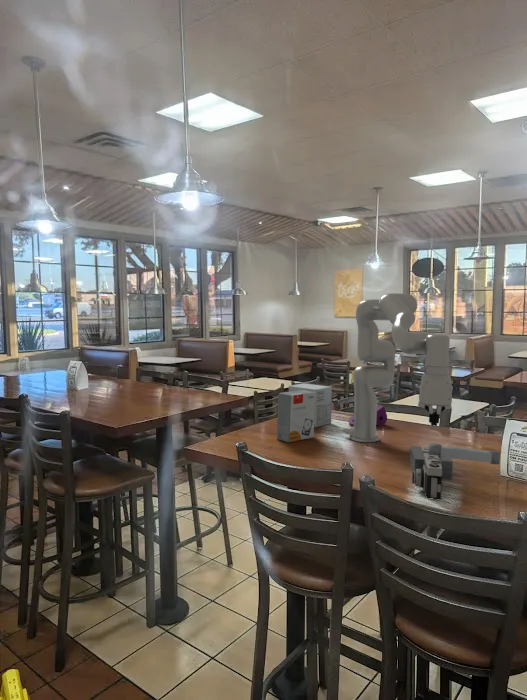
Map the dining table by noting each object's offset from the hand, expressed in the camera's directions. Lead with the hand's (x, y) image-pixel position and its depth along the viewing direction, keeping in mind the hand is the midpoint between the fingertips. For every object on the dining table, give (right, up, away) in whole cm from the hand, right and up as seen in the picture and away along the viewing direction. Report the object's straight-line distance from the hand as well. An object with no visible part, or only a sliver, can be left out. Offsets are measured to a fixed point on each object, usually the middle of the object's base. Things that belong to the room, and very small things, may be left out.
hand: (433, 424), depth 169 cm
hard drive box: (-44, -13, +45) cm, 64 cm away
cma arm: (+7, -10, -8) cm, 14 cm away
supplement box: (-35, -10, +75) cm, 83 cm away
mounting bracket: (-8, -11, +72) cm, 73 cm away
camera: (-7, -19, -14) cm, 24 cm away
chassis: (0, -17, +4) cm, 17 cm away
